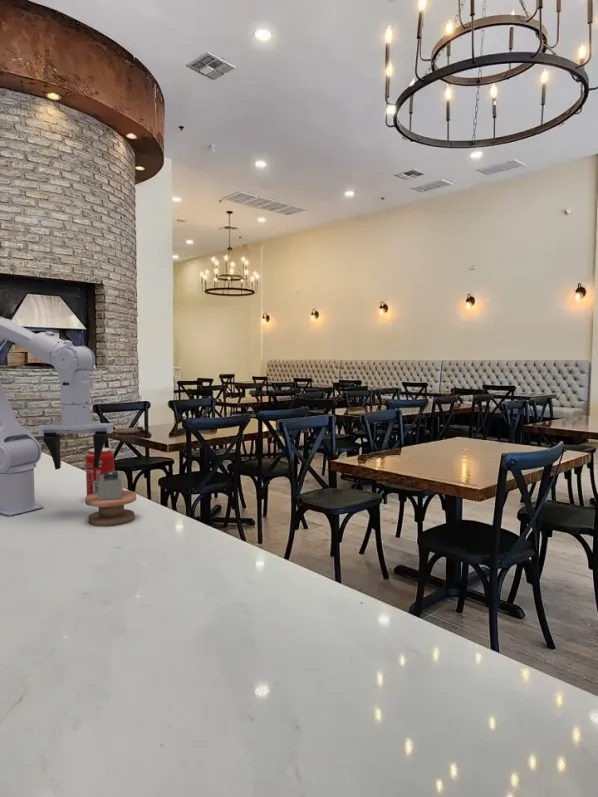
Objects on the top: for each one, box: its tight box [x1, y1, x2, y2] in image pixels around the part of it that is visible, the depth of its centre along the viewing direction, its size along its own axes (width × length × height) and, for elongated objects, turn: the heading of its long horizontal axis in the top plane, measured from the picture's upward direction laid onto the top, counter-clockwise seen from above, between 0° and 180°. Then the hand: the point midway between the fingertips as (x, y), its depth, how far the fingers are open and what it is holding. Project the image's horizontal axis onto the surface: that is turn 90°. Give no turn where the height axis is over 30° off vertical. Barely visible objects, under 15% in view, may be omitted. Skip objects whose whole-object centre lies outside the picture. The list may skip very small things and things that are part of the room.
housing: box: [98, 470, 124, 501], centre depth 112 cm, size 4×7×5 cm, turn 16°
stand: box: [84, 489, 137, 527], centre depth 113 cm, size 10×10×5 cm
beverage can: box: [85, 447, 115, 496], centre depth 129 cm, size 6×6×12 cm
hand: (77, 467), depth 115 cm, fingers open, 7 cm apart
